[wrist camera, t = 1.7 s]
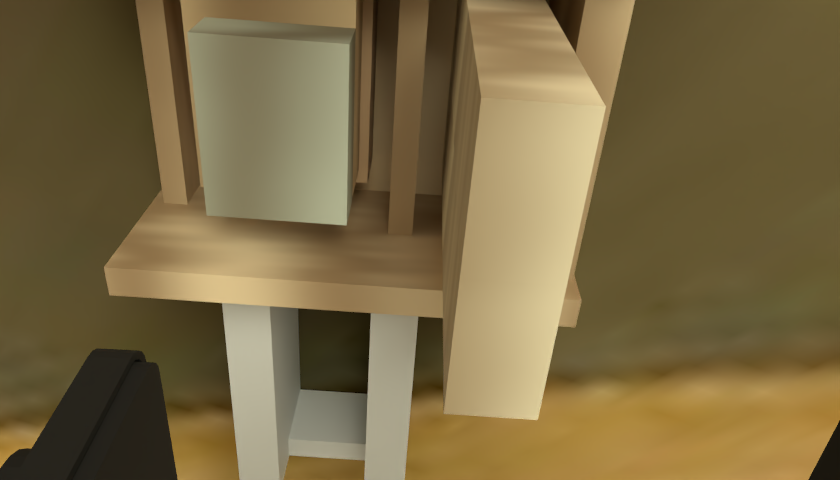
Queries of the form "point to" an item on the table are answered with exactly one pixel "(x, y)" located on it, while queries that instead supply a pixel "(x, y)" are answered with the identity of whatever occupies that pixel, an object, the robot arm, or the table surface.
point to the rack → (372, 202)
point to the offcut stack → (282, 104)
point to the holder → (316, 396)
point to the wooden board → (510, 201)
